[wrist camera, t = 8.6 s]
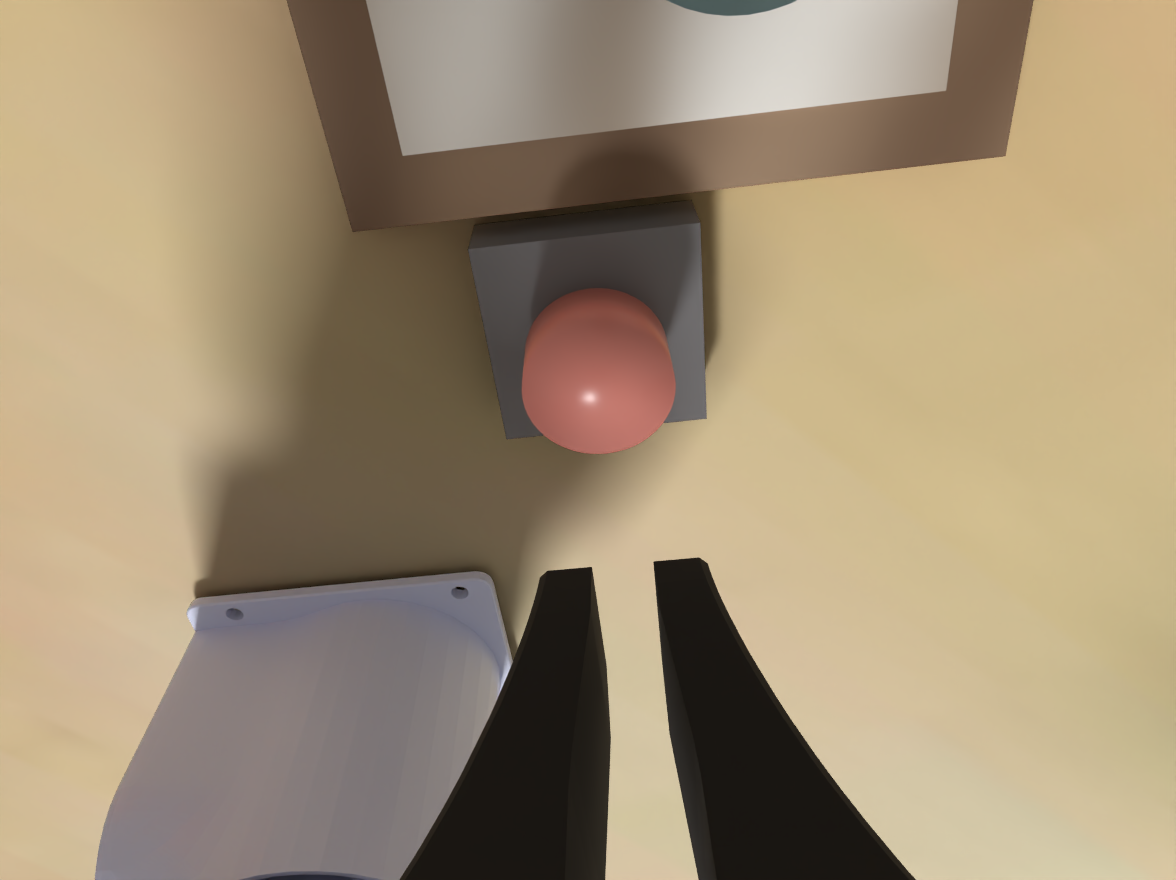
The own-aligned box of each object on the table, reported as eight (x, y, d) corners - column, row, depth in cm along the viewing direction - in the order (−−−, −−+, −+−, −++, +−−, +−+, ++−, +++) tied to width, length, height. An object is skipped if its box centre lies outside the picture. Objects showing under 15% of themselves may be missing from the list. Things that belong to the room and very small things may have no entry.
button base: (510, 407, 21) (506, 439, 20) (474, 225, 19) (468, 248, 17) (698, 387, 21) (706, 418, 20) (691, 199, 18) (700, 222, 17)
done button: (535, 420, 19) (533, 461, 18) (514, 296, 17) (510, 331, 16) (671, 406, 19) (679, 445, 18) (663, 280, 17) (671, 313, 16)
